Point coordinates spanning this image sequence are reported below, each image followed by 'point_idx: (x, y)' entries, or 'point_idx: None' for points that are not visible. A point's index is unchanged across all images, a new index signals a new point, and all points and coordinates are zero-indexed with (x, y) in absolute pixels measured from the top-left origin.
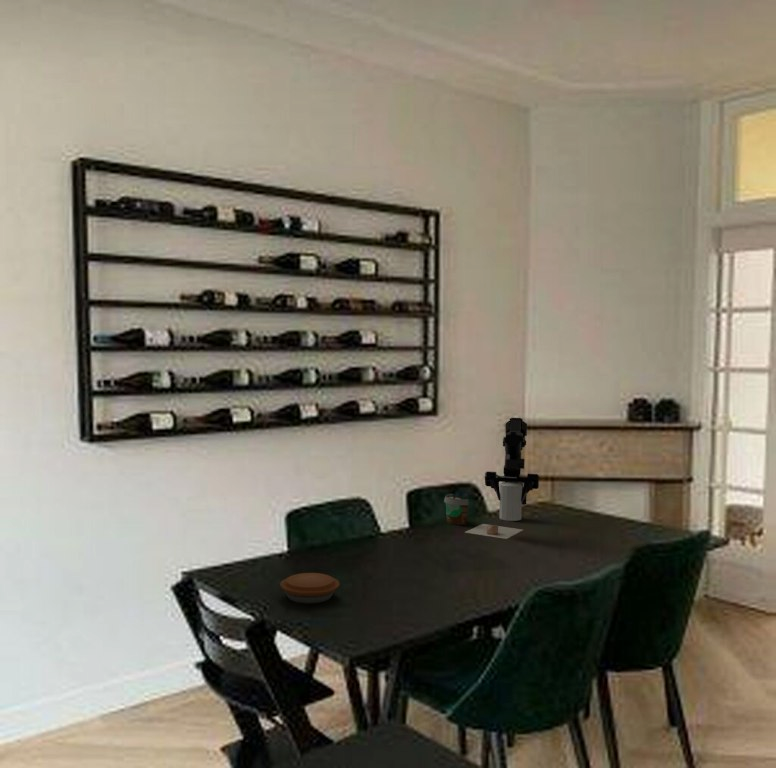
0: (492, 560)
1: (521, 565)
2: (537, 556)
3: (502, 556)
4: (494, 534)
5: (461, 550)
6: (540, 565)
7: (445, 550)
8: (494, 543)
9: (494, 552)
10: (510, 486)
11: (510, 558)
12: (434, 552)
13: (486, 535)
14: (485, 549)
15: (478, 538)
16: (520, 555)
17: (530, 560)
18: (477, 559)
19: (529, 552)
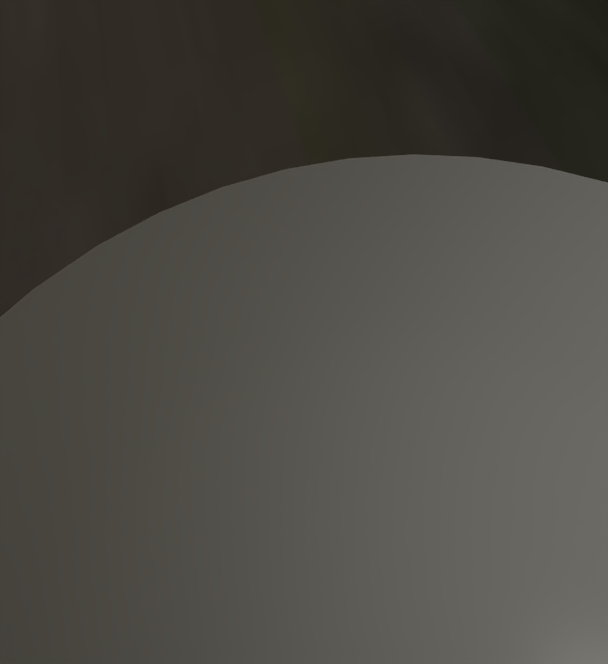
0: (278, 22)
1: (126, 3)
2: (52, 161)
3: (247, 93)
4: None
5: (491, 111)
6: (32, 31)
7: (564, 82)
8: None
9: (309, 142)
10: (339, 167)
11: (198, 78)
12: (590, 36)
13: None
14: None
15: None
16: (153, 144)
17: (88, 83)
18: (351, 12)
19: (106, 220)
